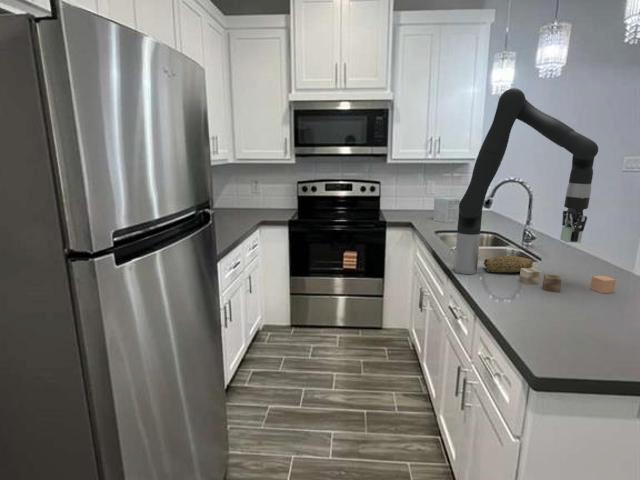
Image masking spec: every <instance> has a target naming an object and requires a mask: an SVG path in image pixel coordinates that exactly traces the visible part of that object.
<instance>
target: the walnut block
mask: <svg viewBox="0 0 640 480" xmlns="http://www.w3.org/2000/svg"><path fill="white" fill-rule="evenodd" d="M542 280H543V281H542V289H543V292H553V293H561V292H560V291H561V285H562V278H561V277H560V275H555V274H543V279H542Z"/></svg>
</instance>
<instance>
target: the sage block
mask: <svg viewBox="0 0 640 480" xmlns="http://www.w3.org/2000/svg"><path fill="white" fill-rule="evenodd" d="M583 232H584V230H583V231H581V232H579V236H578V241H577V242H572V241H571V234H572V227H564V226H562V227H561V232H560V233H561V234H560V238H559V240H561V241H563V242H565V243H575V244H576V243H578V244H581V242H582V237H583Z"/></svg>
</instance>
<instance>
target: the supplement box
mask: <svg viewBox="0 0 640 480" xmlns="http://www.w3.org/2000/svg"><path fill="white" fill-rule="evenodd" d="M433 199H434V201H433V202H434V203H433V218H432V220H433V222H440V223H443V224H449V223H455V222H456V223H458V217H459V203H460V201H461V198H459V197H454V196H453V197H451V196H438V197H434V198H433Z"/></svg>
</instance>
